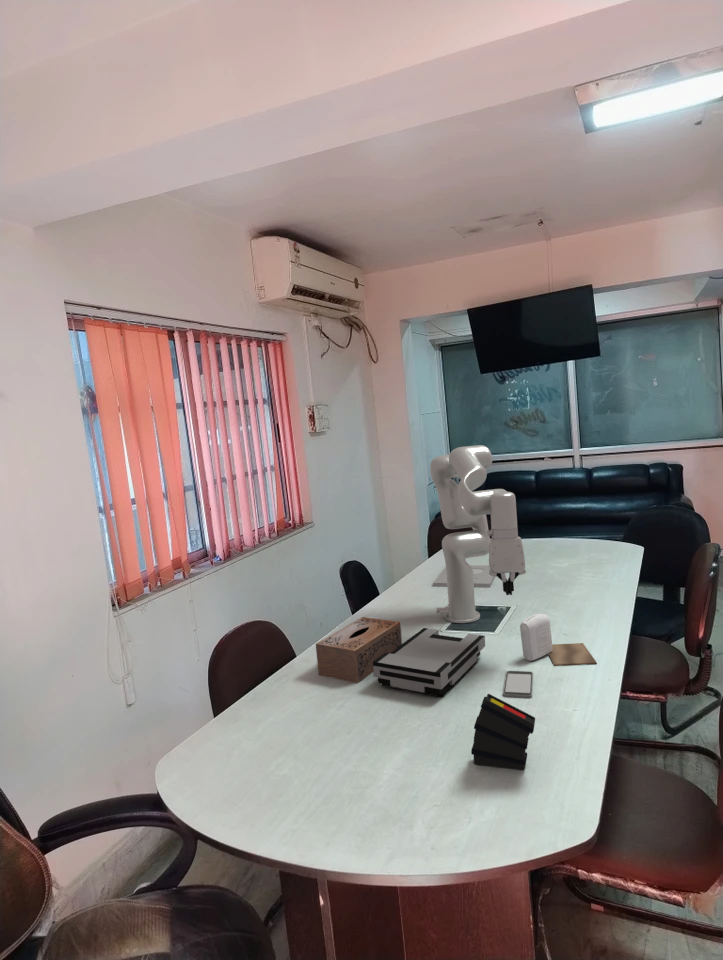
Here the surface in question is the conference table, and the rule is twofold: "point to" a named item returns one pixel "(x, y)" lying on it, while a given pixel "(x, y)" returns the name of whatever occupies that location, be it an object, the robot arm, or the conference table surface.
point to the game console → (429, 662)
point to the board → (571, 654)
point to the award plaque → (479, 577)
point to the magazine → (501, 735)
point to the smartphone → (518, 684)
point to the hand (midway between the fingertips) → (508, 593)
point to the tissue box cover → (357, 648)
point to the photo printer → (536, 636)
